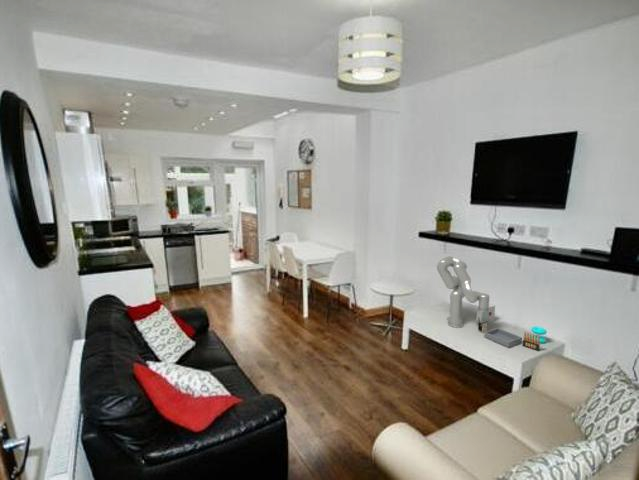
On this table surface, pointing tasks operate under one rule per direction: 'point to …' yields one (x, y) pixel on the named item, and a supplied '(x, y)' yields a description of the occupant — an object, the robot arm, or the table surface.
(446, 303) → the table surface
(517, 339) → the tray
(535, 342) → the ammunition clip
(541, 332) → the donuts
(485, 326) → the birch block
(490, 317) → the supplement box
